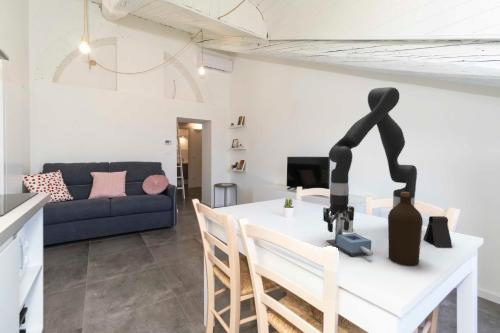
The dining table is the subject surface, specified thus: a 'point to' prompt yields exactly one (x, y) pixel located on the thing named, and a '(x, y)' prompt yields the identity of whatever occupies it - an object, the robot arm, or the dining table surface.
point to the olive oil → (404, 232)
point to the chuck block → (354, 245)
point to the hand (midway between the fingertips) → (338, 231)
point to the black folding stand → (438, 232)
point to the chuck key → (339, 226)
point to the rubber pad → (332, 242)
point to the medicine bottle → (349, 225)
